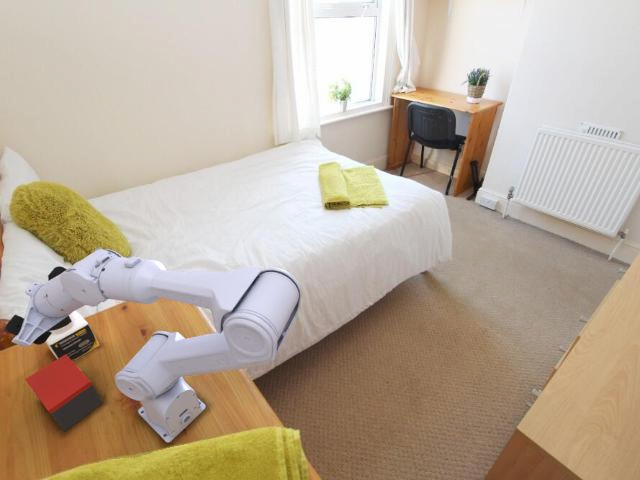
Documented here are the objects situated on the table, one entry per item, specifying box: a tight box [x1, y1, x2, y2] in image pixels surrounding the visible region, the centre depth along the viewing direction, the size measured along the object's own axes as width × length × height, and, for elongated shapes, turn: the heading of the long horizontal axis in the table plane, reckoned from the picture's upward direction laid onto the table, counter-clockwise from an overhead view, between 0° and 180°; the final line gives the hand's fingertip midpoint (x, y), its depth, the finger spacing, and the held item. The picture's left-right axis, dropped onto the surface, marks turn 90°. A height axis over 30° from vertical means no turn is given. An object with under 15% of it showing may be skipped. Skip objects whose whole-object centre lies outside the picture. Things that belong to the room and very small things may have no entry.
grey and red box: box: [24, 354, 104, 433], centre depth 61 cm, size 10×7×7 cm, turn 54°
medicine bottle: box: [44, 310, 100, 363], centre depth 70 cm, size 7×7×12 cm
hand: (33, 312), depth 57 cm, fingers open, 7 cm apart
